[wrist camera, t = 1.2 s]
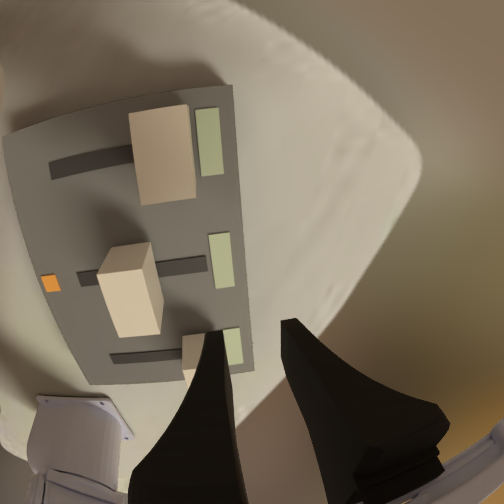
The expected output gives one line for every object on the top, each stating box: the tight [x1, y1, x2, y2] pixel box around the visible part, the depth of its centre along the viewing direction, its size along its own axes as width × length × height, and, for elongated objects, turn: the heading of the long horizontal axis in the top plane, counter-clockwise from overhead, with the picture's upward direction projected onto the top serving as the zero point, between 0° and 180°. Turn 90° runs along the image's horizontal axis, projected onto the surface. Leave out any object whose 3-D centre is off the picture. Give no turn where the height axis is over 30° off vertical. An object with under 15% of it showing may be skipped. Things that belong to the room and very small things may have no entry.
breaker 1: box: [129, 104, 196, 206], centre depth 13 cm, size 2×4×3 cm, turn 3°
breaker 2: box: [182, 333, 205, 389], centre depth 19 cm, size 2×4×3 cm, turn 3°
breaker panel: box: [2, 85, 255, 385], centre depth 18 cm, size 14×20×2 cm
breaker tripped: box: [97, 242, 164, 338], centre depth 16 cm, size 2×4×3 cm, turn 3°
